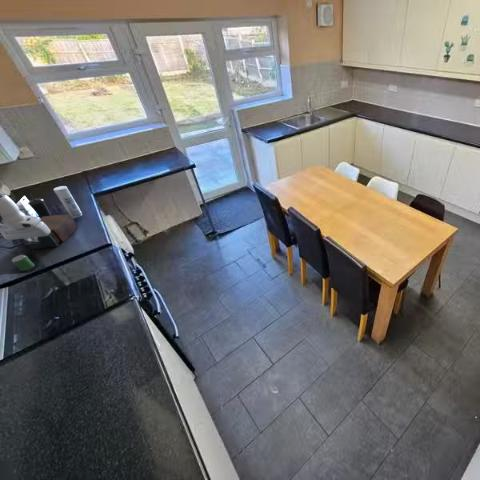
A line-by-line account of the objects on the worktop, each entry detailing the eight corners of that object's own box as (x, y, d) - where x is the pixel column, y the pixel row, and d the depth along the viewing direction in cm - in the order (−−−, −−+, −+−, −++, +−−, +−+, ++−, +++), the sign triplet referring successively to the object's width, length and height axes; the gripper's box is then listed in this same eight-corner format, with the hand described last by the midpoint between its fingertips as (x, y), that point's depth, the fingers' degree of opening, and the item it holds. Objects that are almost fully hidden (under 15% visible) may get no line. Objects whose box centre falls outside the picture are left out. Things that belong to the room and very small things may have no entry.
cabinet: (63, 242, 159) (53, 229, 153) (36, 245, 157) (24, 232, 151) (78, 226, 171) (69, 213, 165) (53, 229, 170) (42, 216, 164)
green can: (20, 274, 139) (8, 262, 134) (27, 266, 143) (16, 255, 138) (32, 272, 140) (20, 261, 134) (38, 265, 144) (28, 253, 139)
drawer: (52, 251, 151) (43, 240, 146) (26, 254, 149) (15, 243, 145) (72, 230, 167) (64, 219, 162) (48, 232, 165) (39, 222, 160)
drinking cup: (55, 215, 182) (37, 188, 170) (56, 220, 177) (38, 192, 166) (40, 220, 178) (20, 192, 166) (41, 224, 173) (21, 196, 162)
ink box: (29, 216, 181) (15, 196, 173) (39, 214, 183) (25, 195, 175) (24, 222, 175) (9, 202, 166) (34, 220, 177) (19, 200, 168)
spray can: (77, 212, 184) (61, 185, 173) (85, 213, 183) (69, 186, 171) (68, 217, 179) (50, 189, 168) (76, 218, 178) (58, 190, 166)
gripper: (-10, 228, 136) (10, 249, 145) (35, 223, 139) (52, 244, 148) (-1, 221, 141) (18, 241, 150) (42, 216, 144) (59, 237, 152)
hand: (35, 243), depth 149 cm, fingers closed
